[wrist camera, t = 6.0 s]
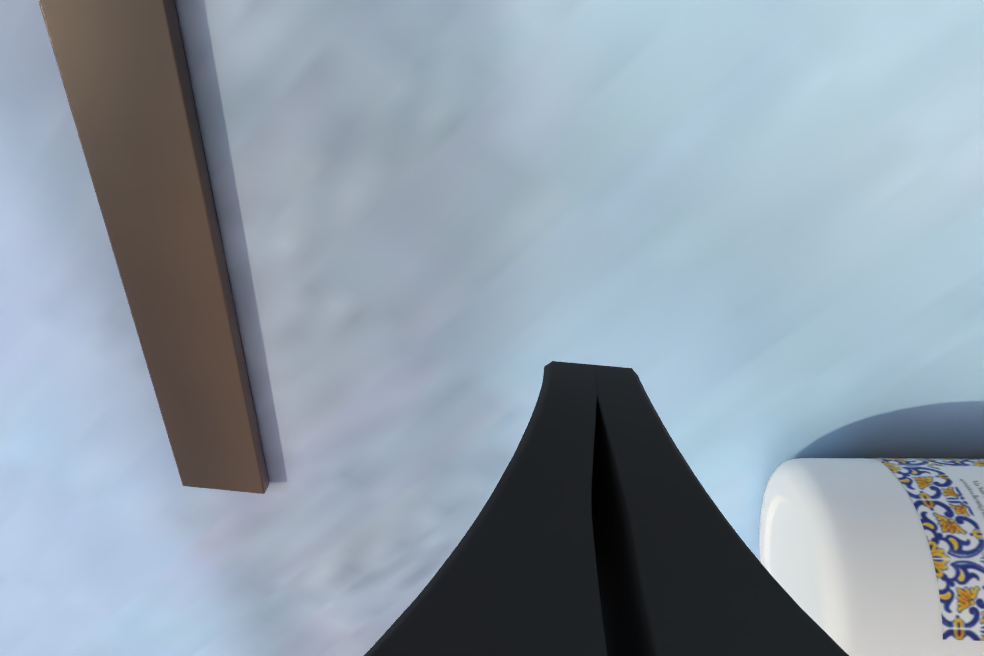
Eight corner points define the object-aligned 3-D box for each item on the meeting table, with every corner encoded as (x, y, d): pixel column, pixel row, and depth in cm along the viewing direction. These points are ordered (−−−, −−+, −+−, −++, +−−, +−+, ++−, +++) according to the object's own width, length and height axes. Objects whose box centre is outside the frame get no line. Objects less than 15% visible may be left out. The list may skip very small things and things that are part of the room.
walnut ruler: (73, -521, 12) (55, -534, 11) (269, 483, 25) (264, 494, 25) (-101, -528, 12) (-125, -541, 11) (188, 476, 25) (182, 486, 25)
